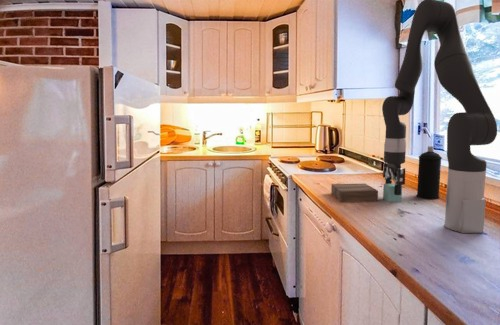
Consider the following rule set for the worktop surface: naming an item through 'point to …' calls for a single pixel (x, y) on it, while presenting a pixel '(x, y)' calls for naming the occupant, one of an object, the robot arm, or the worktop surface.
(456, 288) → the worktop surface
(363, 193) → the stacking base
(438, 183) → the aerosol can
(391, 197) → the teal block
